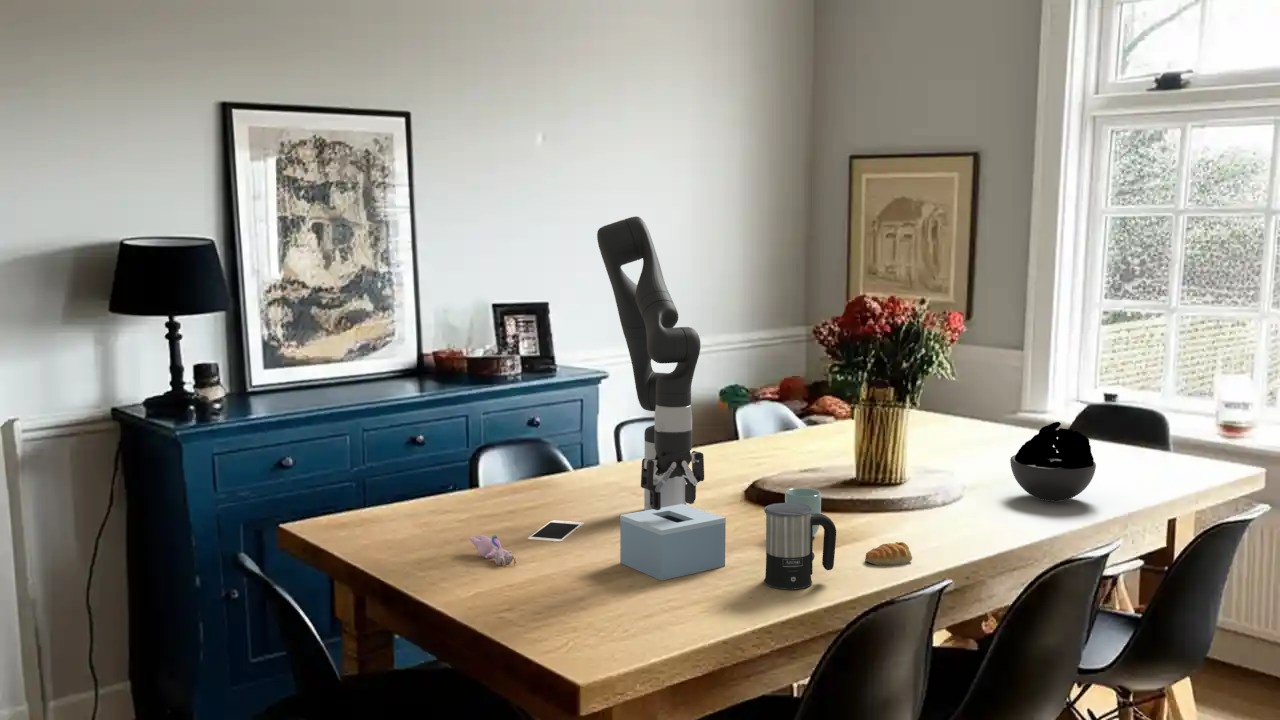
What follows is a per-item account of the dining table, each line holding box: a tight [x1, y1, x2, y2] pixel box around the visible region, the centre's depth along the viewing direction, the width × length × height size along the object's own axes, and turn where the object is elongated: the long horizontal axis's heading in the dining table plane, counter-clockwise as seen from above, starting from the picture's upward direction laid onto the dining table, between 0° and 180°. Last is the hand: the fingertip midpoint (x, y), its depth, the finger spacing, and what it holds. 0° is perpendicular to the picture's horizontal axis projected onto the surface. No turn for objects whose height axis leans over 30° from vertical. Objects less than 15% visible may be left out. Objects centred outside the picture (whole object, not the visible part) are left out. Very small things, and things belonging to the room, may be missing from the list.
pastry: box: [864, 541, 913, 566], centre depth 240 cm, size 9×7×4 cm
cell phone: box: [527, 519, 584, 543], centre depth 262 cm, size 8×16×1 cm, turn 164°
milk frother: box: [763, 502, 837, 590], centre depth 229 cm, size 14×16×15 cm
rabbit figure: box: [468, 534, 517, 567], centre depth 241 cm, size 6×6×15 cm
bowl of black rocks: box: [1009, 421, 1097, 502], centre depth 290 cm, size 20×20×19 cm
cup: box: [784, 487, 822, 537], centre depth 258 cm, size 8×8×10 cm
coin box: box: [619, 504, 727, 581], centre depth 237 cm, size 16×14×10 cm
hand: (672, 506), depth 236 cm, fingers open, 8 cm apart
